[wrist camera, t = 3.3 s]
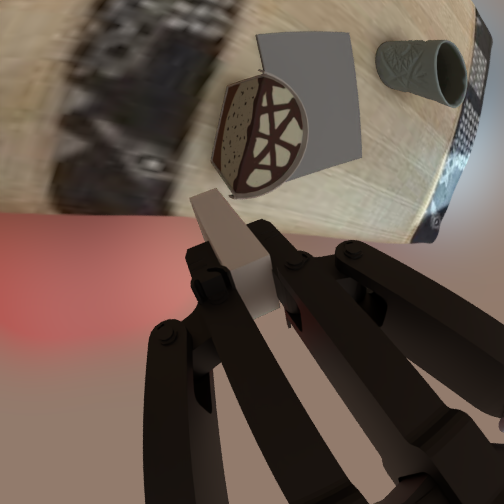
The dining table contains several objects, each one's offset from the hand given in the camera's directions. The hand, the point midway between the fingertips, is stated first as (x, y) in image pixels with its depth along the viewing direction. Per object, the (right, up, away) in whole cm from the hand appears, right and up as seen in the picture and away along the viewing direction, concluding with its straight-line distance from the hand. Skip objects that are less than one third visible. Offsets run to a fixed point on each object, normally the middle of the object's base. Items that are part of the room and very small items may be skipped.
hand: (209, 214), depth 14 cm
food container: (+1, +13, +16) cm, 20 cm away
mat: (+11, +18, +17) cm, 27 cm away
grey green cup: (+24, +28, +17) cm, 41 cm away
